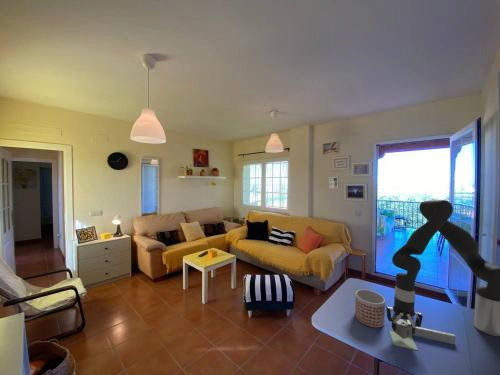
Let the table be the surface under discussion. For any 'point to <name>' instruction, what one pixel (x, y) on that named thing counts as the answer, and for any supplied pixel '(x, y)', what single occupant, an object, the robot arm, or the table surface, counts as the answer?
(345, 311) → the table surface
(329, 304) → the table surface
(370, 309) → the planter
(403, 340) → the mat
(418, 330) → the pen walls
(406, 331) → the dice cube
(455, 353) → the table surface
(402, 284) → the robot arm
